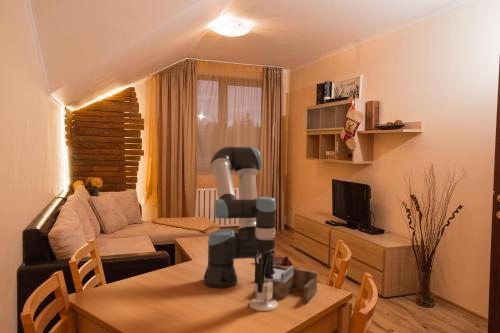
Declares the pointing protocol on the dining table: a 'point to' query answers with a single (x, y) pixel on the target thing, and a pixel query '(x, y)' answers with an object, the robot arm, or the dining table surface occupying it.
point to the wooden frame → (296, 284)
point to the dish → (263, 305)
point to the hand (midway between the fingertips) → (263, 297)
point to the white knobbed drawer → (282, 274)
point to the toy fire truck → (282, 261)
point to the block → (266, 291)
